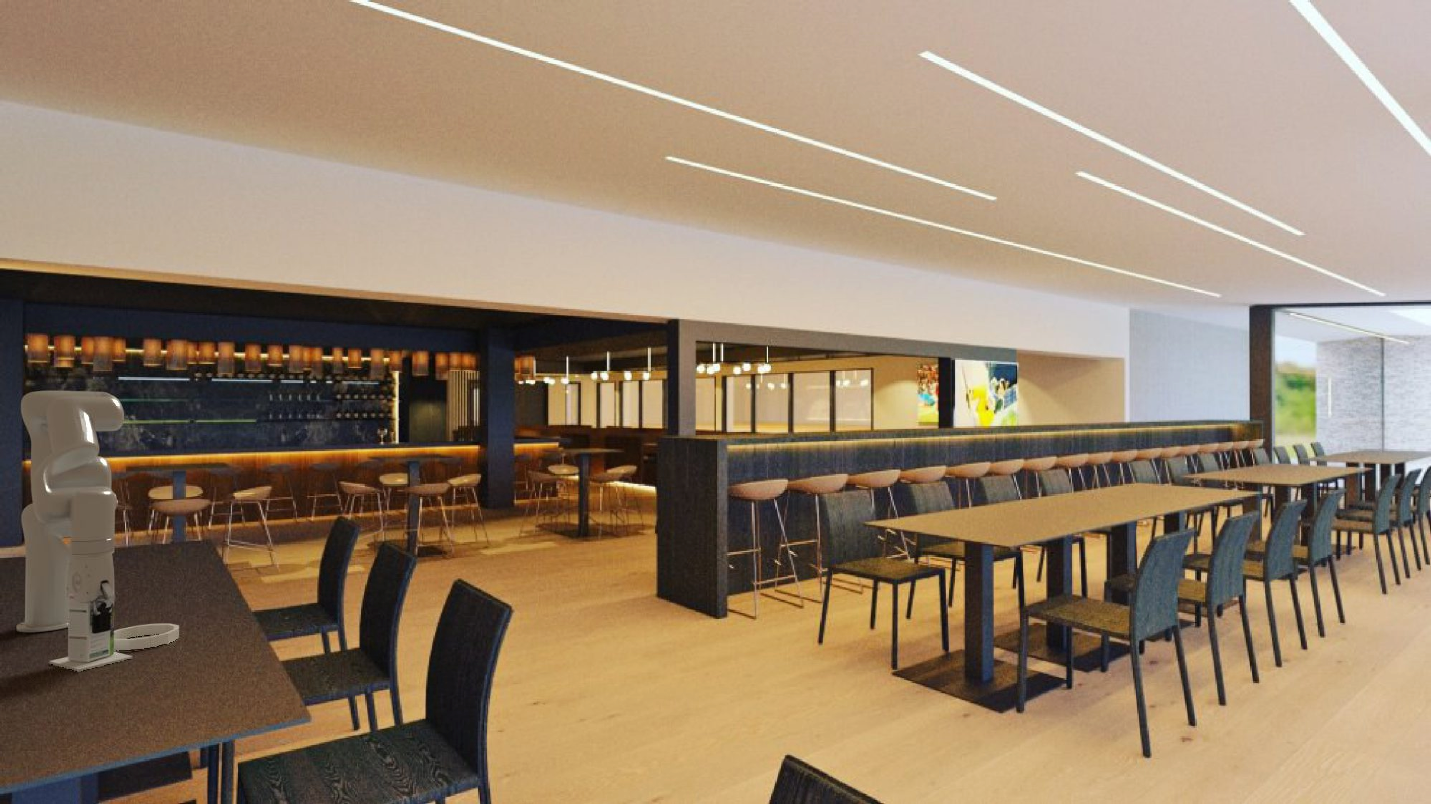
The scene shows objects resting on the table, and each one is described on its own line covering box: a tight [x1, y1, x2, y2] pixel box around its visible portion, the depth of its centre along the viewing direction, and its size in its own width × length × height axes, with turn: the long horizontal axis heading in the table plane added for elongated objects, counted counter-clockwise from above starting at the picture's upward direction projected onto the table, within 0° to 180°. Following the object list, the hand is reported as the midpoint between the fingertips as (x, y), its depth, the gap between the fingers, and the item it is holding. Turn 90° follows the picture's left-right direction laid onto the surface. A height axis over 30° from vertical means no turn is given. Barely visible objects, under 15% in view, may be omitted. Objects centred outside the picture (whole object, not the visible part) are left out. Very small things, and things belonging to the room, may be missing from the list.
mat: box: [48, 651, 133, 673], centre depth 170 cm, size 12×10×1 cm
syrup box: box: [67, 593, 115, 662], centre depth 171 cm, size 6×6×14 cm
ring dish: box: [114, 623, 180, 652], centre depth 184 cm, size 14×14×2 cm
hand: (91, 629), depth 170 cm, fingers open, 7 cm apart
